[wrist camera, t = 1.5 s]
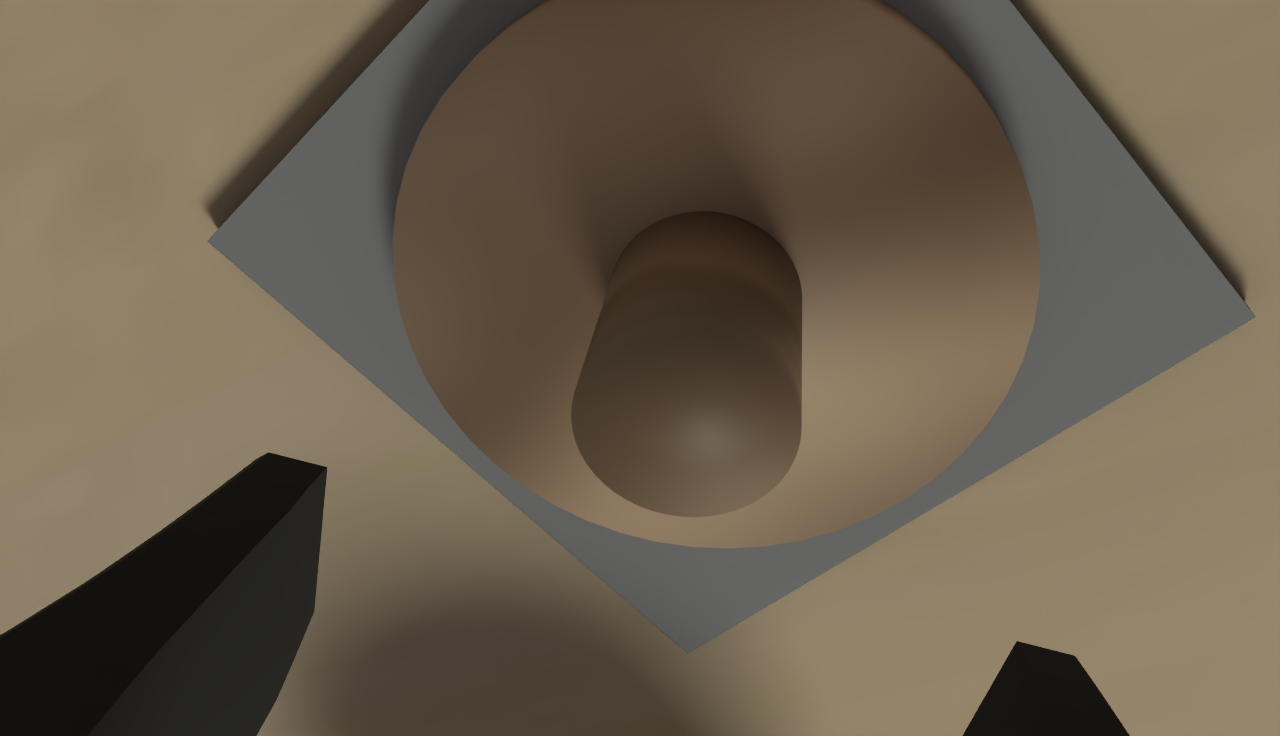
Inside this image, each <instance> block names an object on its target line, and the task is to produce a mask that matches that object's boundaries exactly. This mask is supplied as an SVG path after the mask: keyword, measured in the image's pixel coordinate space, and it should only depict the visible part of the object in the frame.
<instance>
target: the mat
mask: <svg viewBox="0 0 1280 736" xmlns="http://www.w3.org/2000/svg"><path fill="white" fill-rule="evenodd" d="M542 1H544V0H429V1H428V2H427V3H426V4H425V6H424V7H423V8H422V9H421V10H420V11H419V12H418V13H417V14H416V15H415V16H414V17H413V19H412V20H411V21H410V22H409V23H408V24H407V25H406V26H405V27H404V28H403V29H402V30H401V32H400V33H399V34H398V35H397V36H396V37H395V38H394V39H393V40H392V41H391V42H390V43H389V45H388V46H387V47H386V48H385V49H384V50H383V51H382V52H381V53H380V54H379V55H378V56H377V58H376V59H375V60H374V61H373V62H372V63H371V64H370V65H369V66H368V67H367V68H366V69H365V71H364V72H363V73H362V74H361V75H360V76H359V77H358V78H357V79H356V80H355V81H354V83H353V84H352V85H351V86H350V87H349V88H348V89H347V90H346V91H345V92H344V93H343V94H342V96H341V97H340V98H339V99H338V100H337V101H336V102H335V103H334V104H333V105H332V106H331V107H330V109H329V110H328V111H327V112H326V113H325V114H324V115H323V116H322V117H321V118H320V119H319V120H318V122H317V123H316V124H315V125H314V126H313V127H312V128H311V129H310V130H309V131H308V132H307V133H306V135H305V136H304V137H303V138H302V139H301V140H300V141H299V142H298V143H297V144H296V145H295V146H294V148H293V149H292V150H291V151H290V152H289V153H288V154H287V155H286V156H285V157H284V158H283V160H282V161H281V162H280V163H279V164H278V165H277V166H276V167H275V168H274V169H273V170H272V171H271V173H270V174H269V175H268V176H267V177H266V178H265V179H264V180H263V181H262V182H261V183H260V184H259V186H258V187H257V188H256V189H255V190H254V191H253V192H252V193H251V194H250V195H249V196H248V197H247V199H246V200H245V201H244V202H243V203H242V204H241V205H240V206H239V207H238V208H237V209H236V210H235V212H234V213H233V214H232V215H231V216H230V217H229V218H228V219H227V220H226V221H225V222H224V223H223V225H222V226H221V227H220V228H219V229H218V230H217V231H216V232H215V233H214V234H213V235H212V237H211V238H210V239H209V240H208V242H209V243H210V244H211V245H212V246H213V247H215V248H216V249H217V250H218V251H219V252H220V253H222V254H223V255H224V256H225V257H226V258H227V259H229V260H230V261H231V262H232V263H233V264H234V265H236V266H237V267H238V268H239V269H240V270H241V271H243V272H244V273H245V274H246V275H247V276H248V277H249V278H251V279H252V280H253V281H254V282H255V283H256V284H258V285H259V286H260V287H261V288H262V289H263V290H265V291H266V292H267V293H268V294H269V295H270V296H272V297H273V298H274V299H275V300H276V301H277V302H279V303H280V304H281V305H282V306H283V307H284V308H286V309H287V310H288V311H289V312H290V313H291V314H293V315H294V316H295V317H296V318H297V319H298V320H300V321H301V322H302V323H303V324H304V325H305V326H307V327H308V328H309V329H310V330H311V331H312V332H314V333H315V334H316V335H317V336H318V337H319V338H321V339H322V340H323V341H324V342H325V343H326V344H328V345H329V346H330V347H331V348H332V349H333V350H335V351H336V352H337V353H338V354H339V355H340V356H342V357H343V358H344V359H345V360H346V361H347V362H348V363H350V364H351V365H352V366H353V367H354V368H355V369H357V370H358V371H359V372H360V373H361V374H362V375H364V376H365V377H366V378H367V379H368V380H369V381H371V382H372V383H373V384H374V385H375V386H376V387H378V388H379V389H380V390H381V391H382V392H383V393H385V394H386V395H387V396H388V397H389V398H390V399H392V400H393V401H394V402H395V403H396V404H397V405H399V406H400V407H401V408H402V409H403V410H404V411H406V412H407V413H408V414H409V415H410V416H411V417H413V418H414V419H415V420H416V421H417V422H418V423H420V424H421V425H422V426H423V427H424V428H425V429H427V430H428V431H429V432H430V433H431V434H432V435H434V436H435V437H436V438H437V439H438V440H439V441H441V442H442V443H443V444H444V445H445V446H446V447H447V448H449V449H450V450H451V451H452V452H453V453H454V454H456V455H457V456H458V457H459V458H460V459H461V460H463V461H464V462H465V463H466V464H467V465H468V466H470V467H471V468H472V469H473V470H474V471H475V472H477V473H478V474H479V475H480V476H481V477H482V478H484V479H485V480H486V481H487V482H488V483H489V484H491V485H492V486H493V487H494V488H495V489H496V490H498V491H499V492H500V493H501V494H502V495H503V496H505V497H506V498H507V499H508V500H509V501H510V502H512V503H513V504H514V505H515V506H516V507H517V508H519V509H520V510H521V511H522V512H523V513H524V514H526V515H527V516H528V517H529V518H530V519H531V520H533V521H534V522H535V523H536V524H537V525H538V526H540V527H541V528H542V529H543V530H544V531H545V532H546V533H548V534H549V535H550V536H551V537H552V538H553V539H555V540H556V541H557V542H558V543H559V544H560V545H562V546H563V547H564V548H565V549H566V550H567V551H569V552H570V553H571V554H572V555H573V556H574V557H576V558H577V559H578V560H579V561H580V562H581V563H583V564H584V565H585V566H586V567H587V568H588V569H590V570H591V571H592V572H593V573H594V574H595V575H597V576H598V577H599V578H600V579H601V580H602V581H604V582H605V583H606V584H607V585H608V586H609V587H611V588H612V589H613V590H614V591H615V592H616V593H618V594H619V595H620V596H621V597H622V598H623V599H625V600H626V601H627V602H628V603H629V604H630V605H632V606H633V607H634V608H635V609H636V610H637V611H639V612H640V613H641V614H642V615H643V616H644V617H645V618H647V619H648V620H649V621H650V622H651V623H652V624H654V625H655V626H656V627H657V628H658V629H659V630H661V631H662V632H663V633H664V634H665V635H666V636H668V637H669V638H670V639H671V640H672V641H673V642H675V643H676V644H677V645H678V646H679V647H680V648H682V649H683V650H684V651H685V652H686V653H689V652H691V651H693V650H694V649H696V648H698V647H699V646H701V645H703V644H704V643H706V642H708V641H709V640H711V639H713V638H714V637H716V636H718V635H720V634H721V633H723V632H725V631H726V630H728V629H730V628H731V627H733V626H735V625H736V624H738V623H740V622H741V621H743V620H745V619H747V618H748V617H750V616H752V615H753V614H755V613H757V612H758V611H760V610H762V609H763V608H765V607H767V606H768V605H770V604H772V603H774V602H775V601H777V600H779V599H780V598H782V597H784V596H785V595H787V594H789V593H790V592H792V591H794V590H795V589H797V588H799V587H801V586H802V585H804V584H806V583H807V582H809V581H811V580H812V579H814V578H816V577H817V576H819V575H821V574H823V573H824V572H826V571H828V570H829V569H831V568H833V567H834V566H836V565H838V564H839V563H841V562H843V561H844V560H846V559H848V558H850V557H851V556H853V555H855V554H856V553H858V552H860V551H861V550H863V549H865V548H866V547H868V546H870V545H871V544H873V543H875V542H877V541H878V540H880V539H882V538H883V537H885V536H887V535H888V534H890V533H892V532H893V531H895V530H897V529H898V528H900V527H902V526H904V525H905V524H907V523H909V522H910V521H912V520H914V519H915V518H917V517H919V516H920V515H922V514H924V513H925V512H927V511H929V510H931V509H932V508H934V507H936V506H937V505H939V504H941V503H942V502H944V501H946V500H947V499H949V498H951V497H953V496H954V495H956V494H958V493H959V492H961V491H963V490H964V489H966V488H968V487H969V486H971V485H973V484H974V483H976V482H978V481H980V480H981V479H983V478H985V477H986V476H988V475H990V474H991V473H993V472H995V471H996V470H998V469H1000V468H1001V467H1003V466H1005V465H1007V464H1008V463H1010V462H1012V461H1013V460H1015V459H1017V458H1018V457H1020V456H1022V455H1023V454H1025V453H1027V452H1028V451H1030V450H1032V449H1034V448H1035V447H1037V446H1039V445H1040V444H1042V443H1044V442H1045V441H1047V440H1049V439H1050V438H1052V437H1054V436H1056V435H1057V434H1059V433H1061V432H1062V431H1064V430H1066V429H1067V428H1069V427H1071V426H1072V425H1074V424H1076V423H1077V422H1079V421H1081V420H1083V419H1084V418H1086V417H1088V416H1089V415H1091V414H1093V413H1094V412H1096V411H1098V410H1099V409H1101V408H1103V407H1104V406H1106V405H1108V404H1110V403H1111V402H1113V401H1115V400H1116V399H1118V398H1120V397H1121V396H1123V395H1125V394H1126V393H1128V392H1130V391H1131V390H1133V389H1135V388H1137V387H1138V386H1140V385H1142V384H1143V383H1145V382H1147V381H1148V380H1150V379H1152V378H1153V377H1155V376H1157V375H1158V374H1160V373H1162V372H1164V371H1165V370H1167V369H1169V368H1170V367H1172V366H1174V365H1175V364H1177V363H1179V362H1180V361H1182V360H1184V359H1186V358H1187V357H1189V356H1191V355H1192V354H1194V353H1196V352H1197V351H1199V350H1201V349H1202V348H1204V347H1206V346H1207V345H1209V344H1211V343H1213V342H1214V341H1216V340H1218V339H1219V338H1221V337H1223V336H1224V335H1226V334H1228V333H1229V332H1231V331H1233V330H1234V329H1236V328H1238V327H1240V326H1241V325H1243V324H1245V323H1246V322H1248V321H1250V320H1251V319H1253V318H1255V315H1254V314H1253V312H1252V311H1251V310H1250V308H1249V307H1248V305H1247V304H1246V303H1245V301H1244V300H1243V299H1242V298H1241V296H1240V295H1239V294H1238V292H1237V291H1236V290H1235V288H1234V287H1233V286H1232V285H1231V283H1230V282H1229V281H1228V279H1227V278H1226V277H1225V276H1224V274H1223V273H1222V272H1221V270H1220V269H1219V268H1218V267H1217V265H1216V264H1215V263H1214V261H1213V260H1212V259H1211V258H1210V256H1209V255H1208V254H1207V252H1206V251H1205V250H1204V249H1203V247H1202V246H1201V245H1200V243H1199V242H1198V241H1197V240H1196V238H1195V237H1194V236H1193V234H1192V233H1191V232H1190V231H1189V229H1188V228H1187V227H1186V225H1185V224H1184V223H1183V222H1182V220H1181V219H1180V218H1179V216H1178V215H1177V214H1176V213H1175V211H1174V210H1173V209H1172V207H1171V206H1170V205H1169V204H1168V202H1167V201H1166V200H1165V198H1164V197H1163V196H1162V195H1161V193H1160V192H1159V191H1158V189H1157V188H1156V187H1155V186H1154V184H1153V183H1152V182H1151V180H1150V179H1149V178H1148V177H1147V175H1146V174H1145V173H1144V171H1143V170H1142V169H1141V168H1140V166H1139V165H1138V164H1137V162H1136V161H1135V160H1134V159H1133V157H1132V156H1131V155H1130V153H1129V152H1128V151H1127V150H1126V148H1125V147H1124V146H1123V144H1122V143H1121V142H1120V141H1119V139H1118V138H1117V137H1116V135H1115V134H1114V133H1113V132H1112V130H1111V129H1110V128H1109V126H1108V125H1107V124H1106V123H1105V121H1104V120H1103V119H1102V117H1101V116H1100V115H1099V114H1098V112H1097V111H1096V110H1095V108H1094V107H1093V106H1092V105H1091V103H1090V102H1089V101H1088V99H1087V98H1086V97H1085V96H1084V94H1083V93H1082V92H1081V90H1080V89H1079V88H1078V87H1077V85H1076V84H1075V83H1074V81H1073V80H1072V79H1071V78H1070V76H1069V75H1068V74H1067V72H1066V71H1065V70H1064V68H1063V67H1062V66H1061V65H1060V63H1059V62H1058V61H1057V59H1056V58H1055V57H1054V56H1053V54H1052V53H1051V52H1050V50H1049V49H1048V48H1047V47H1046V45H1045V44H1044V43H1043V41H1042V40H1041V39H1040V38H1039V36H1038V35H1037V34H1036V32H1035V31H1034V30H1033V29H1032V27H1031V26H1030V25H1029V23H1028V22H1027V21H1026V20H1025V18H1024V17H1023V16H1022V14H1021V13H1020V12H1019V11H1018V9H1017V8H1016V7H1015V5H1014V4H1013V3H1012V2H1011V0H881V1H882V2H884V3H886V4H887V5H889V6H891V7H893V8H894V9H896V10H898V11H900V12H901V13H903V14H904V15H905V16H907V17H908V18H909V19H910V20H912V21H913V22H914V23H916V24H917V25H918V26H919V27H921V28H922V29H923V30H924V31H926V32H927V33H928V34H930V35H931V36H932V37H933V38H935V39H936V40H937V41H938V42H939V43H940V44H941V45H942V46H943V47H944V48H945V49H946V50H947V51H948V52H949V53H950V54H951V55H952V56H953V57H954V59H955V60H956V61H957V62H958V63H959V64H960V65H961V66H962V67H963V68H964V69H965V70H966V71H967V72H968V73H969V75H970V76H971V78H972V79H973V80H974V82H975V83H976V85H977V86H978V88H979V89H980V90H981V92H982V93H983V95H984V96H985V98H986V99H987V100H988V102H989V103H990V105H991V106H992V108H993V109H994V111H995V113H996V115H997V117H998V119H999V121H1000V123H1001V125H1002V127H1003V129H1004V131H1005V133H1006V135H1007V137H1008V139H1009V141H1010V143H1011V145H1012V147H1013V150H1014V152H1015V154H1016V156H1017V159H1018V161H1019V163H1020V166H1021V169H1022V172H1023V175H1024V178H1025V181H1026V184H1027V187H1028V190H1029V194H1030V197H1031V200H1032V203H1033V206H1034V213H1035V219H1036V225H1037V232H1038V238H1039V244H1040V288H1039V295H1038V302H1037V308H1036V315H1035V322H1034V326H1033V330H1032V333H1031V336H1030V339H1029V343H1028V346H1027V349H1026V352H1025V356H1024V359H1023V362H1022V364H1021V366H1020V368H1019V370H1018V372H1017V374H1016V376H1015V379H1014V381H1013V383H1012V385H1011V387H1010V389H1009V391H1008V393H1007V395H1006V397H1005V398H1004V400H1003V401H1002V403H1001V404H1000V406H999V408H998V409H997V411H996V412H995V414H994V415H993V417H992V418H991V420H990V421H989V423H988V424H987V426H986V427H985V428H984V429H983V431H982V432H981V433H980V434H979V435H978V436H977V437H976V439H975V440H974V441H973V442H972V443H971V444H970V445H969V447H968V448H967V449H966V450H965V451H964V452H963V454H962V455H961V456H959V457H958V458H957V459H956V460H955V461H954V462H953V463H952V464H950V465H949V466H948V467H947V468H946V469H945V470H944V471H943V472H941V473H940V474H939V475H938V476H937V477H936V478H935V479H933V480H932V481H931V482H929V483H928V484H926V485H925V486H923V487H922V488H920V489H919V490H918V491H916V492H915V493H913V494H912V495H910V496H909V497H907V498H906V499H905V500H903V501H901V502H899V503H897V504H895V505H893V506H892V507H890V508H888V509H886V510H884V511H882V512H880V513H878V514H877V515H875V516H873V517H871V518H868V519H866V520H863V521H861V522H858V523H856V524H853V525H850V526H848V527H845V528H843V529H840V530H838V531H834V532H831V533H827V534H824V535H820V536H816V537H813V538H809V539H805V540H802V541H795V542H789V543H783V544H777V545H771V546H764V547H746V548H729V549H728V548H705V547H689V546H682V545H675V544H668V543H662V542H655V541H651V540H647V539H643V538H639V537H635V536H631V535H627V534H623V533H620V532H617V531H614V530H611V529H609V528H606V527H603V526H600V525H597V524H595V523H592V522H589V521H586V520H584V519H582V518H580V517H578V516H576V515H574V514H572V513H570V512H568V511H566V510H563V509H561V508H559V507H557V506H555V505H553V504H552V503H550V502H548V501H547V500H545V499H544V498H542V497H540V496H539V495H537V494H535V493H534V492H532V491H531V490H529V489H527V488H526V487H524V486H523V485H521V484H520V483H519V482H517V481H516V480H515V479H514V478H512V477H511V476H510V475H508V474H507V473H506V472H505V471H503V470H502V469H501V468H499V467H498V466H497V465H496V464H494V463H493V462H492V461H491V460H490V459H489V458H488V457H487V456H486V455H485V454H484V453H483V452H482V451H481V450H480V449H479V448H478V447H477V446H476V445H475V444H474V443H473V442H472V441H471V440H470V439H469V438H468V437H467V436H466V435H465V434H464V432H463V431H462V430H461V429H460V427H459V426H458V425H457V424H456V422H455V421H454V420H453V419H452V418H451V416H450V415H449V414H448V413H447V411H446V410H445V409H444V407H443V405H442V404H441V402H440V401H439V399H438V397H437V396H436V394H435V393H434V391H433V390H432V388H431V386H430V385H429V383H428V382H427V380H426V378H425V376H424V374H423V372H422V369H421V367H420V365H419V363H418V361H417V359H416V357H415V355H414V353H413V350H412V348H411V345H410V342H409V339H408V336H407V333H406V330H405V327H404V324H403V321H402V317H401V314H400V310H399V304H398V298H397V293H396V287H395V282H394V270H393V244H392V239H393V230H394V221H395V211H396V203H397V199H398V195H399V191H400V187H401V183H402V179H403V176H404V172H405V168H406V165H407V162H408V160H409V158H410V155H411V153H412V151H413V148H414V146H415V143H416V141H417V139H418V136H419V134H420V132H421V129H422V128H423V126H424V125H425V123H426V121H427V120H428V118H429V116H430V115H431V113H432V112H433V110H434V108H435V107H436V105H437V103H438V102H439V100H440V98H441V97H442V95H443V94H444V93H445V92H446V90H447V89H448V88H449V87H450V86H451V84H452V83H453V82H454V81H455V80H456V79H457V77H458V76H459V75H460V74H461V73H462V71H463V70H464V69H465V68H466V67H467V65H468V64H469V63H470V62H471V61H472V60H473V58H474V57H475V56H476V55H477V54H478V53H479V52H480V50H481V49H482V48H483V47H484V46H485V45H487V44H488V43H489V42H490V41H491V40H492V39H493V38H494V37H496V36H497V35H498V34H499V33H500V32H501V31H502V30H503V29H505V28H506V27H507V26H508V25H509V24H510V23H511V22H512V21H514V20H515V19H517V18H518V17H520V16H521V15H523V14H524V13H526V12H527V11H529V10H530V9H532V8H533V7H535V6H536V5H538V4H539V3H541V2H542Z"/></svg>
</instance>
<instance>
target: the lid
mask: <svg viewBox="0 0 1280 736" xmlns="http://www.w3.org/2000/svg"><path fill="white" fill-rule="evenodd" d="M392 244H393V270H394V282H395V287H396V293H397V298H398V304H399V310H400V314H401V317H402V321H403V324H404V327H405V330H406V333H407V336H408V339H409V342H410V345H411V348H412V350H413V353H414V355H415V357H416V359H417V361H418V363H419V365H420V367H421V369H422V372H423V374H424V376H425V378H426V380H427V382H428V383H429V385H430V386H431V388H432V390H433V391H434V393H435V394H436V396H437V397H438V399H439V401H440V402H441V404H442V405H443V407H444V409H445V410H446V411H447V413H448V414H449V415H450V416H451V418H452V419H453V420H454V421H455V422H456V424H457V425H458V426H459V427H460V429H461V430H462V431H463V432H464V434H465V435H466V436H467V437H468V438H469V439H470V440H471V441H472V442H473V443H474V444H475V445H476V446H477V447H478V448H479V449H480V450H481V451H482V452H483V453H484V454H485V455H486V456H487V457H488V458H489V459H490V460H491V461H492V462H493V463H494V464H496V465H497V466H498V467H499V468H501V469H502V470H503V471H505V472H506V473H507V474H508V475H510V476H511V477H512V478H514V479H515V480H516V481H517V482H519V483H520V484H521V485H523V486H524V487H526V488H527V489H529V490H531V491H532V492H534V493H535V494H537V495H539V496H540V497H542V498H544V499H545V500H547V501H548V502H550V503H552V504H553V505H555V506H557V507H559V508H561V509H563V510H566V511H568V512H570V513H572V514H574V515H576V516H578V517H580V518H582V519H584V520H586V521H589V522H592V523H595V524H597V525H600V526H603V527H606V528H609V529H611V530H614V531H617V532H620V533H623V534H627V535H631V536H635V537H639V538H643V539H647V540H651V541H655V542H662V543H668V544H675V545H682V546H689V547H705V548H728V549H729V548H746V547H764V546H771V545H777V544H783V543H789V542H795V541H802V540H805V539H809V538H813V537H816V536H820V535H824V534H827V533H831V532H834V531H838V530H840V529H843V528H845V527H848V526H850V525H853V524H856V523H858V522H861V521H863V520H866V519H868V518H871V517H873V516H875V515H877V514H878V513H880V512H882V511H884V510H886V509H888V508H890V507H892V506H893V505H895V504H897V503H899V502H901V501H903V500H905V499H906V498H907V497H909V496H910V495H912V494H913V493H915V492H916V491H918V490H919V489H920V488H922V487H923V486H925V485H926V484H928V483H929V482H931V481H932V480H933V479H935V478H936V477H937V476H938V475H939V474H940V473H941V472H943V471H944V470H945V469H946V468H947V467H948V466H949V465H950V464H952V463H953V462H954V461H955V460H956V459H957V458H958V457H959V456H961V455H962V454H963V452H964V451H965V450H966V449H967V448H968V447H969V445H970V444H971V443H972V442H973V441H974V440H975V439H976V437H977V436H978V435H979V434H980V433H981V432H982V431H983V429H984V428H985V427H986V426H987V424H988V423H989V421H990V420H991V418H992V417H993V415H994V414H995V412H996V411H997V409H998V408H999V406H1000V404H1001V403H1002V401H1003V400H1004V398H1005V397H1006V395H1007V393H1008V391H1009V389H1010V387H1011V385H1012V383H1013V381H1014V379H1015V376H1016V374H1017V372H1018V370H1019V368H1020V366H1021V364H1022V362H1023V359H1024V356H1025V352H1026V349H1027V346H1028V343H1029V339H1030V336H1031V333H1032V330H1033V326H1034V322H1035V315H1036V308H1037V302H1038V295H1039V288H1040V244H1039V238H1038V232H1037V225H1036V219H1035V213H1034V206H1033V203H1032V200H1031V197H1030V194H1029V190H1028V187H1027V184H1026V181H1025V178H1024V175H1023V172H1022V169H1021V166H1020V163H1019V161H1018V159H1017V156H1016V154H1015V152H1014V150H1013V147H1012V145H1011V143H1010V141H1009V139H1008V137H1007V135H1006V133H1005V131H1004V129H1003V127H1002V125H1001V123H1000V121H999V119H998V117H997V115H996V113H995V111H994V109H993V108H992V106H991V105H990V103H989V102H988V100H987V99H986V98H985V96H984V95H983V93H982V92H981V90H980V89H979V88H978V86H977V85H976V83H975V82H974V80H973V79H972V78H971V76H970V75H969V73H968V72H967V71H966V70H965V69H964V68H963V67H962V66H961V65H960V64H959V63H958V62H957V61H956V60H955V59H954V57H953V56H952V55H951V54H950V53H949V52H948V51H947V50H946V49H945V48H944V47H943V46H942V45H941V44H940V43H939V42H938V41H937V40H936V39H935V38H933V37H932V36H931V35H930V34H928V33H927V32H926V31H924V30H923V29H922V28H921V27H919V26H918V25H917V24H916V23H914V22H913V21H912V20H910V19H909V18H908V17H907V16H905V15H904V14H903V13H901V12H900V11H898V10H896V9H894V8H893V7H891V6H889V5H887V4H886V3H884V2H882V1H881V0H544V1H542V2H541V3H539V4H538V5H536V6H535V7H533V8H532V9H530V10H529V11H527V12H526V13H524V14H523V15H521V16H520V17H518V18H517V19H515V20H514V21H512V22H511V23H510V24H509V25H508V26H507V27H506V28H505V29H503V30H502V31H501V32H500V33H499V34H498V35H497V36H496V37H494V38H493V39H492V40H491V41H490V42H489V43H488V44H487V45H485V46H484V47H483V48H482V49H481V50H480V52H479V53H478V54H477V55H476V56H475V57H474V58H473V60H472V61H471V62H470V63H469V64H468V65H467V67H466V68H465V69H464V70H463V71H462V73H461V74H460V75H459V76H458V77H457V79H456V80H455V81H454V82H453V83H452V84H451V86H450V87H449V88H448V89H447V90H446V92H445V93H444V94H443V95H442V97H441V98H440V100H439V102H438V103H437V105H436V107H435V108H434V110H433V112H432V113H431V115H430V116H429V118H428V120H427V121H426V123H425V125H424V126H423V128H422V129H421V132H420V134H419V136H418V139H417V141H416V143H415V146H414V148H413V151H412V153H411V155H410V158H409V160H408V162H407V165H406V168H405V172H404V176H403V179H402V183H401V187H400V191H399V195H398V199H397V203H396V211H395V221H394V230H393V239H392Z"/></svg>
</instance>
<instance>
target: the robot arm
mask: <svg viewBox="0 0 1280 736" xmlns="http://www.w3.org/2000/svg"><path fill="white" fill-rule="evenodd" d="M326 475H327V467H324V466H320V465H316V464H312V463H308V462H304V461H300V460H296V459H292V458H288V457H284V456H280V455H277V454H273V453H267V454H265V455H263V456H261V457H259V458H257V459H256V460H255V461H253V462H252V463H251V464H249V465H248V466H247V467H245V468H244V469H243V470H241V471H240V472H239V473H238V474H236V475H235V476H234V477H232V478H231V479H230V480H228V481H227V482H226V483H224V484H223V485H222V486H220V487H219V488H218V489H217V490H215V491H214V492H213V493H211V494H210V495H209V496H207V497H206V498H205V499H203V500H202V501H201V502H199V503H198V504H197V505H195V506H194V507H192V508H191V509H190V510H188V511H187V512H186V513H184V514H183V515H182V516H180V517H179V518H177V519H176V520H175V521H173V522H172V523H171V524H169V525H168V526H166V527H165V528H164V529H162V530H161V531H160V532H158V533H157V534H155V535H154V536H152V537H151V538H149V539H148V540H147V541H145V542H144V543H142V544H141V545H139V546H138V547H136V548H135V549H134V550H132V551H131V552H129V553H128V554H126V555H125V556H123V557H122V558H121V559H119V560H118V561H116V562H115V563H113V564H112V565H110V566H109V567H108V568H106V569H105V570H103V571H102V572H100V573H99V574H97V575H96V576H94V577H93V578H91V579H90V580H88V581H87V582H85V583H84V584H82V585H81V586H79V587H77V588H76V589H74V590H72V591H71V592H69V593H68V594H66V595H64V596H63V597H61V598H60V599H58V600H56V601H55V602H53V603H52V604H50V605H48V606H47V607H45V608H44V609H42V610H40V611H39V612H37V613H36V614H34V615H32V616H31V617H29V618H28V619H26V620H24V621H23V622H21V623H20V624H18V625H16V626H15V627H13V628H12V629H10V630H8V631H7V632H5V633H3V634H1V635H0V736H256V735H257V734H258V732H259V730H260V728H261V726H262V725H263V723H264V721H265V719H266V718H267V716H268V714H269V712H270V710H271V709H272V707H273V705H274V703H275V701H276V700H277V697H278V695H279V693H280V690H281V688H282V686H283V684H284V681H285V679H286V677H287V674H288V672H289V670H290V668H291V665H292V663H293V661H294V658H295V656H296V653H297V651H298V649H299V646H300V644H301V641H302V639H303V637H304V634H305V632H306V629H307V627H308V625H309V622H310V620H311V617H312V615H313V613H314V607H315V596H316V585H317V574H318V563H319V552H320V541H321V530H322V519H323V508H324V497H325V486H326ZM963 736H1129V734H1128V733H1127V731H1126V730H1125V728H1124V727H1123V725H1122V724H1121V722H1120V721H1119V719H1118V718H1117V716H1116V715H1115V713H1114V712H1113V710H1112V709H1111V707H1110V706H1109V704H1108V703H1107V701H1106V700H1105V698H1104V697H1103V695H1102V694H1101V692H1100V691H1099V689H1098V688H1097V687H1096V685H1095V684H1094V682H1093V681H1092V679H1091V678H1090V676H1089V675H1088V674H1087V672H1086V671H1085V669H1084V668H1083V667H1082V665H1081V664H1080V662H1079V661H1078V660H1077V658H1076V657H1075V656H1073V655H1069V654H1065V653H1061V652H1058V651H1054V650H1050V649H1046V648H1042V647H1038V646H1034V645H1030V644H1026V643H1022V642H1018V641H1017V642H1016V644H1015V645H1014V647H1013V649H1012V650H1011V652H1010V654H1009V656H1008V657H1007V659H1006V661H1005V663H1004V664H1003V666H1002V668H1001V670H1000V671H999V673H998V675H997V677H996V678H995V680H994V682H993V684H992V685H991V687H990V689H989V691H988V692H987V694H986V696H985V698H984V699H983V701H982V703H981V705H980V706H979V708H978V710H977V712H976V713H975V715H974V717H973V719H972V720H971V722H970V724H969V726H968V727H967V729H966V731H965V732H964V734H963Z"/></svg>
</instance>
